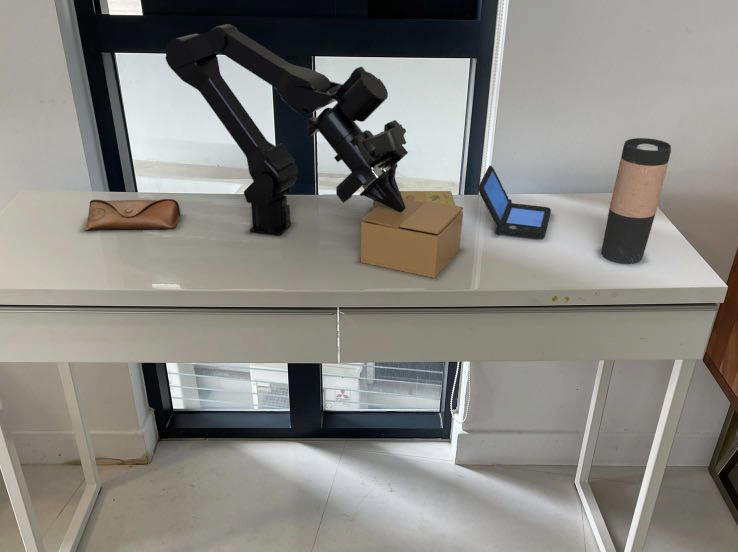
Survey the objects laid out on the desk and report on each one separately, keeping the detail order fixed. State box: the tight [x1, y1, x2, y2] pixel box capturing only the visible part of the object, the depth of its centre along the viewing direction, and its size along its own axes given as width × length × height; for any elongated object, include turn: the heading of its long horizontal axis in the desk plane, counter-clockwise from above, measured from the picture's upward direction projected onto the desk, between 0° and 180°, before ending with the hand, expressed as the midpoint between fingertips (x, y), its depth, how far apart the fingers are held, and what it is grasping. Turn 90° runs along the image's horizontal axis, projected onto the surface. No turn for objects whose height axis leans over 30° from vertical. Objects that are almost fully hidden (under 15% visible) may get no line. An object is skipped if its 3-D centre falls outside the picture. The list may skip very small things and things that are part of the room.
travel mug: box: [601, 137, 672, 265], centre depth 125 cm, size 8×8×20 cm
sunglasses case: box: [84, 198, 181, 231], centre depth 143 cm, size 18×7×7 cm, turn 94°
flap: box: [361, 197, 424, 229], centre depth 127 cm, size 7×13×1 cm, turn 153°
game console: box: [478, 165, 552, 240], centre depth 141 cm, size 16×14×9 cm
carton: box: [372, 190, 456, 210], centre depth 145 cm, size 8×16×4 cm, turn 88°
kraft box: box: [360, 201, 464, 279], centre depth 128 cm, size 14×13×8 cm
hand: (403, 210), depth 126 cm, fingers closed, pressing on flap
